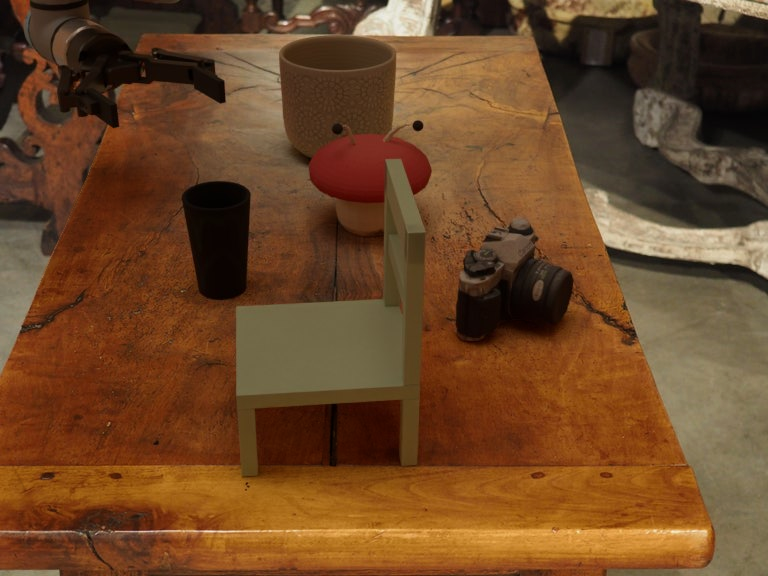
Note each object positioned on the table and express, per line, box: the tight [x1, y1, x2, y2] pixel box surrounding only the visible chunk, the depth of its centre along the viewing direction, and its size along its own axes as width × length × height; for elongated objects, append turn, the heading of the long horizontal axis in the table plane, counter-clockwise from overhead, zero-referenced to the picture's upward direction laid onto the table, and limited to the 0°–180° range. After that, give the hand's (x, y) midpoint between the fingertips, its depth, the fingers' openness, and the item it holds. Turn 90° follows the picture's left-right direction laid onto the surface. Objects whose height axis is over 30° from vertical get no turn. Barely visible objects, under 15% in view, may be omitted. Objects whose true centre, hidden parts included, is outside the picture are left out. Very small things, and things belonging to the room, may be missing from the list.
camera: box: [455, 217, 574, 342], centre depth 118 cm, size 16×10×10 cm, turn 150°
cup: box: [181, 180, 252, 301], centre depth 123 cm, size 8×8×12 cm
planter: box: [278, 34, 397, 159], centre depth 158 cm, size 17×17×15 cm
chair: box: [235, 159, 427, 478], centre depth 98 cm, size 16×15×24 cm
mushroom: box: [308, 119, 433, 237], centre depth 137 cm, size 16×16×15 cm
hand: (170, 103), depth 123 cm, fingers open, 13 cm apart
